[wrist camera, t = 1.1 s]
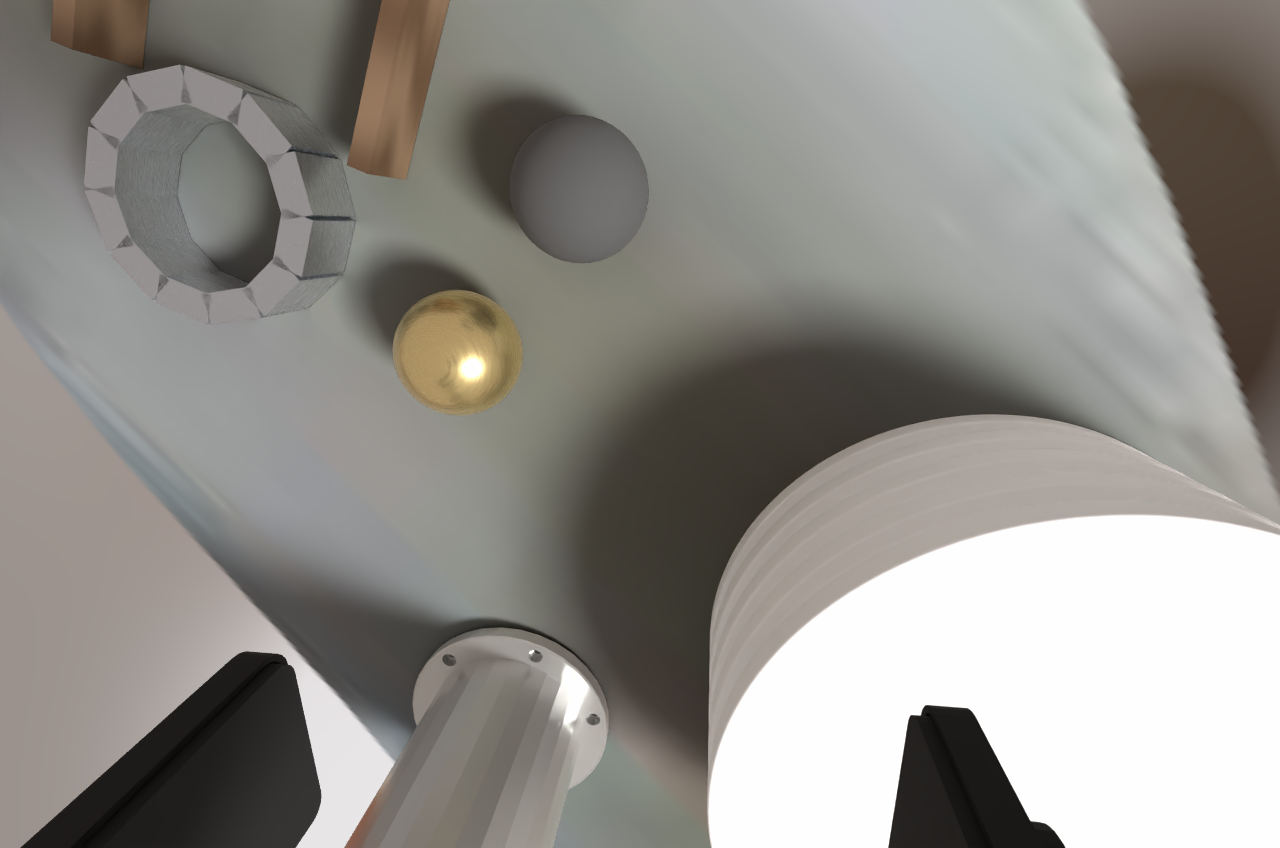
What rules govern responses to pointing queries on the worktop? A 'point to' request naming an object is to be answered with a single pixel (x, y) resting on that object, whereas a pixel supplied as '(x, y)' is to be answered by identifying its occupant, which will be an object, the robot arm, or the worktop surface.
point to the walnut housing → (394, 84)
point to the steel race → (151, 215)
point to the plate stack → (1000, 641)
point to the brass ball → (457, 352)
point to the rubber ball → (579, 189)
